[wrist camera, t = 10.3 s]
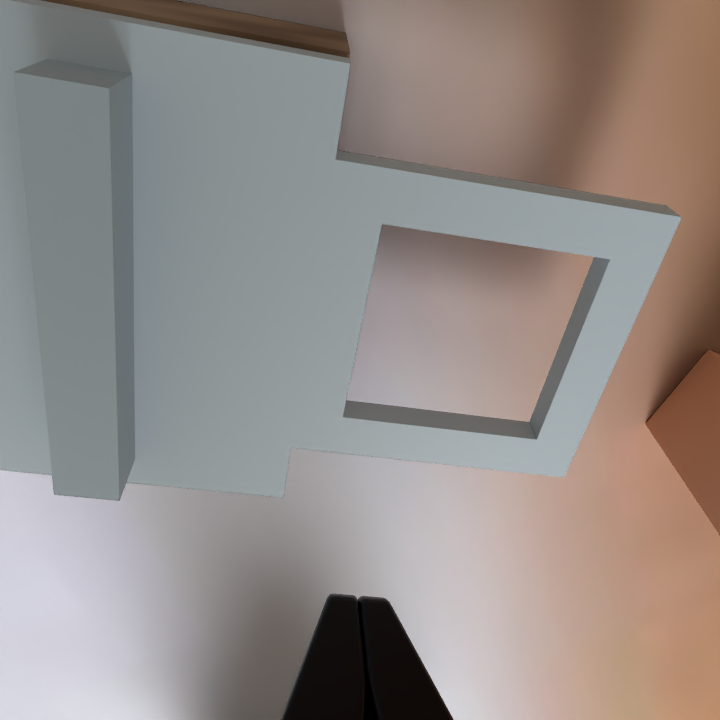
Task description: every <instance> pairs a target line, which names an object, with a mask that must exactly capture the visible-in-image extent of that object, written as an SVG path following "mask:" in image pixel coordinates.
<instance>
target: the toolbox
mask: <svg viewBox="0 0 720 720" xmlns="http://www.w3.org/2000/svg"><path fill="white" fill-rule="evenodd" d="M41 1H47V2H52V3H57V4H63V5H68V6H73V7H79V8H84V9H89V10H95V11H100V12H105V13H111V14H116V15H122V16H127V17H132V18H138V19H143V20H148V21H154V22H159V23H164V24H170V25H175V26H180V27H186V28H191V29H196V30H202V31H207V32H212V33H218V34H223V35H229V36H234V37H239V38H245V39H250V40H255V41H261V42H266V43H271V44H277V45H282V46H287V47H293V48H298V49H303V50H309V51H314V52H320V53H325V54H330V55H336V56H341V57H346V58H349V55H350V50H349V46H348V41H347V36H346V33H343V32H338V31H333V30H327V29H322V28H317V27H312V26H307V25H301V24H296V23H291V22H286V21H281V20H275V19H270V18H265V17H260V16H254V15H249V14H244V13H239V12H234V11H228V10H223V9H218V8H213V7H208V6H202V5H197V4H192V3H187V2H181V1H176V0H41Z"/></svg>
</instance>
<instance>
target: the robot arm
mask: <svg viewBox="0 0 720 720" xmlns="http://www.w3.org/2000/svg"><path fill="white" fill-rule="evenodd" d="M281 720H453V718H452V716H451V714H450V712H449V710H448V709H447V707H446V705H445V703H444V701H443V699H442V698H441V696H440V694H439V692H438V690H437V688H436V686H435V685H434V683H433V681H432V679H431V677H430V675H429V674H428V672H427V670H426V668H425V666H424V664H423V663H422V661H421V659H420V657H419V655H418V653H417V652H416V650H415V648H414V646H413V644H412V642H411V641H410V639H409V637H408V635H407V633H406V631H405V630H404V628H403V626H402V624H401V622H400V620H399V618H398V617H397V615H396V613H395V611H394V609H393V607H392V606H391V604H390V602H389V601H388V600H387V599H385V598H381V597H368V596H361V597H359V599H358V600H357V598H356V597H355V596H353V595H343V594H330V595H329V596H328V598H327V600H326V602H325V605H324V608H323V610H322V613H321V615H320V618H319V621H318V623H317V626H316V629H315V631H314V634H313V636H312V639H311V642H310V644H309V647H308V650H307V652H306V655H305V657H304V660H303V663H302V665H301V668H300V671H299V673H298V676H297V678H296V681H295V684H294V686H293V689H292V692H291V694H290V697H289V700H288V702H287V705H286V707H285V710H284V713H283V715H282V718H281Z"/></svg>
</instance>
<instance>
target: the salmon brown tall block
mask: <svg viewBox="0 0 720 720" xmlns="http://www.w3.org/2000/svg"><path fill="white" fill-rule="evenodd" d="M646 426H647V427H648V429H649V430H650V432H651V433H652V435H653V436H654V438H655V439H656V441H657V442H658V444H659V445H660V447H661V448H662V450H663V451H664V453H665V454H666V456H667V457H668V459H669V460H670V462H671V463H672V465H673V466H674V467H675V469H676V470H677V472H678V473H679V475H680V476H681V478H682V479H683V481H684V482H685V484H686V485H687V487H688V488H689V490H690V491H691V493H692V494H693V496H694V497H695V499H696V500H697V502H698V503H699V505H700V506H701V508H702V509H703V511H704V512H705V514H706V515H707V517H708V518H709V520H710V521H711V523H712V524H713V526H714V527H715V529H716V530H717V532H718V533H719V535H720V354H718V353H716V352H714V351H711V350H709V349H708V350H707V352H706V353H705V354H704V355H703V356H702V358H701V359H700V360H699V361H698V362H697V363H696V365H695V366H694V367H693V368H692V369H691V371H690V372H689V373H688V374H687V375H686V376H685V378H684V379H683V380H682V381H681V382H680V384H679V385H678V386H677V387H676V388H675V389H674V391H673V392H672V393H671V394H670V395H669V397H668V398H667V399H666V400H665V401H664V402H663V404H662V405H661V406H660V407H659V408H658V409H657V411H656V412H655V413H654V414H653V415H652V417H651V418H650V419H649V420H648V421H647V422H646Z"/></svg>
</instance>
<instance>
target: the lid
mask: <svg viewBox="0 0 720 720" xmlns="http://www.w3.org/2000/svg"><path fill="white" fill-rule="evenodd" d="M349 70H350V59H349V58H346V57H341V56H336V55H330V54H325V53H320V52H314V51H309V50H303V49H298V48H293V47H287V46H282V45H277V44H271V43H266V42H261V41H255V40H250V39H245V38H239V37H234V36H229V35H223V34H218V33H212V32H207V31H202V30H196V29H191V28H186V27H180V26H175V25H170V24H164V23H159V22H154V21H148V20H143V19H138V18H132V17H127V16H122V15H116V14H111V13H105V12H100V11H95V10H89V9H84V8H79V7H73V6H68V5H63V4H57V3H52V2H47V1H41V0H0V470H4V471H14V472H24V473H35V474H45V475H52V479H53V490H54V495H64V496H74V497H85V498H96V499H106V500H117V501H119V500H120V498H121V495H122V492H123V490H124V487H125V484H126V483H136V484H147V485H157V486H167V487H177V488H187V489H198V490H208V491H218V492H228V493H238V494H249V495H259V496H269V497H279V498H283V496H284V490H285V483H286V477H287V470H288V464H289V457H290V451H291V448H296V449H305V450H315V451H324V452H333V453H342V454H352V455H361V456H370V457H379V458H389V459H398V460H407V461H416V462H426V463H435V464H444V465H453V466H463V467H472V468H481V469H490V470H500V471H509V472H518V473H527V474H537V475H546V476H555V477H564V476H565V474H566V472H567V470H568V468H569V465H570V463H571V461H572V459H573V457H574V454H575V452H576V450H577V448H578V445H579V443H580V441H581V439H582V437H583V434H584V432H585V430H586V428H587V426H588V423H589V421H590V419H591V417H592V415H593V412H594V410H595V408H596V406H597V403H598V401H599V399H600V397H601V395H602V392H603V390H604V388H605V386H606V384H607V381H608V379H609V377H610V375H611V373H612V370H613V368H614V366H615V364H616V361H617V359H618V357H619V355H620V353H621V350H622V348H623V346H624V344H625V342H626V339H627V337H628V335H629V333H630V331H631V328H632V326H633V324H634V322H635V319H636V317H637V315H638V313H639V311H640V308H641V306H642V304H643V302H644V300H645V297H646V295H647V293H648V291H649V289H650V286H651V284H652V282H653V280H654V278H655V275H656V273H657V271H658V269H659V266H660V264H661V262H662V260H663V258H664V255H665V253H666V251H667V249H668V247H669V244H670V242H671V240H672V238H673V236H674V233H675V231H676V229H677V227H678V224H679V222H680V220H681V218H682V217H681V216H680V215H678V214H677V213H676V212H674V211H673V210H672V209H670V208H669V207H668V206H666V205H660V204H654V203H648V202H642V201H637V200H631V199H625V198H619V197H613V196H607V195H601V194H595V193H589V192H583V191H577V190H571V189H565V188H559V187H553V186H547V185H541V184H535V183H530V182H524V181H518V180H512V179H506V178H500V177H494V176H488V175H482V174H476V173H470V172H464V171H458V170H452V169H446V168H440V167H434V166H428V165H422V164H417V163H411V162H405V161H399V160H393V159H387V158H381V157H375V156H369V155H363V154H357V153H351V152H345V151H339V150H337V147H338V141H339V134H340V128H341V121H342V115H343V108H344V102H345V95H346V89H347V83H348V76H349ZM382 224H385V225H391V226H398V227H404V228H411V229H417V230H424V231H430V232H436V233H443V234H449V235H456V236H462V237H469V238H475V239H482V240H488V241H495V242H501V243H507V244H514V245H520V246H527V247H533V248H540V249H546V250H553V251H559V252H566V253H572V254H578V255H585V256H591V257H594V259H593V261H592V264H591V266H590V269H589V271H588V274H587V277H586V279H585V282H584V284H583V287H582V289H581V292H580V294H579V297H578V299H577V302H576V305H575V307H574V310H573V312H572V315H571V317H570V320H569V322H568V325H567V328H566V330H565V333H564V335H563V338H562V340H561V343H560V345H559V348H558V350H557V353H556V356H555V358H554V361H553V363H552V366H551V368H550V371H549V373H548V376H547V379H546V381H545V384H544V386H543V389H542V391H541V394H540V396H539V399H538V401H537V404H536V407H535V409H534V412H533V414H532V417H531V419H530V422H524V421H515V420H507V419H499V418H490V417H482V416H473V415H465V414H456V413H448V412H440V411H431V410H423V409H414V408H406V407H398V406H389V405H381V404H372V403H364V402H355V401H347V400H346V399H347V394H348V389H349V384H350V379H351V374H352V369H353V364H354V360H355V355H356V350H357V345H358V340H359V335H360V330H361V325H362V320H363V315H364V310H365V305H366V300H367V295H368V290H369V285H370V280H371V275H372V271H373V266H374V261H375V256H376V251H377V246H378V241H379V236H380V231H381V226H382Z"/></svg>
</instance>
